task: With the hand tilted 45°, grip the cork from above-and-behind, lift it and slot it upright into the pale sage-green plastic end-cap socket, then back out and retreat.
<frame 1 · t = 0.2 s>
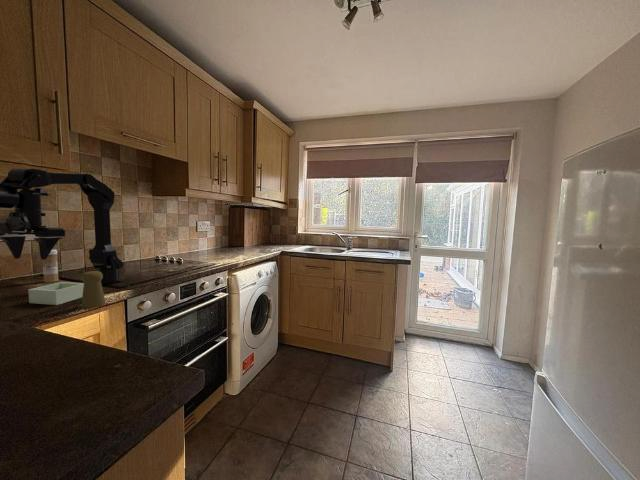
hand: (30, 259, 83), 15 cm above the counter, tool pointing down, fingers open, 9 cm apart
end cap socket: (59, 299, 90), on the counter
cork: (93, 305, 85), on the counter
sprinkles bottle: (51, 281, 112), on the counter
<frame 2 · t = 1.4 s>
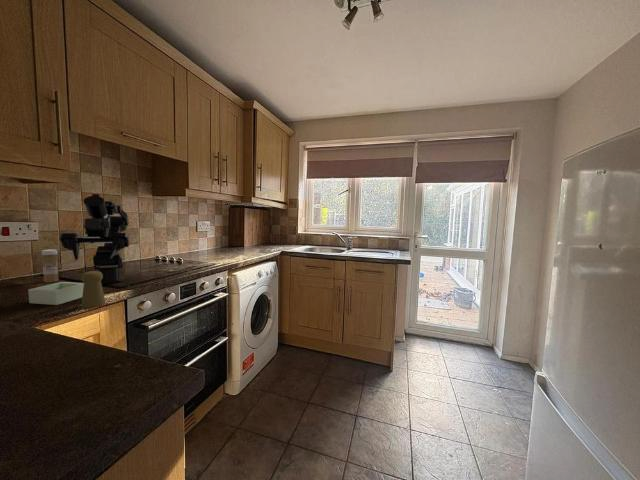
hand: (93, 258, 91), 14 cm above the counter, tool tilted 45°, fingers open, 9 cm apart
nothing on the counter moved.
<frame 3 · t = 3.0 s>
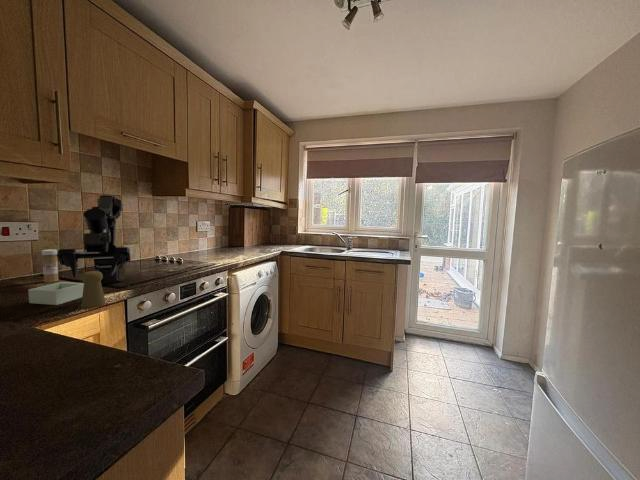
hand: (93, 276, 86), 9 cm above the counter, tool tilted 45°, fingers open, 9 cm apart
nothing on the counter moved.
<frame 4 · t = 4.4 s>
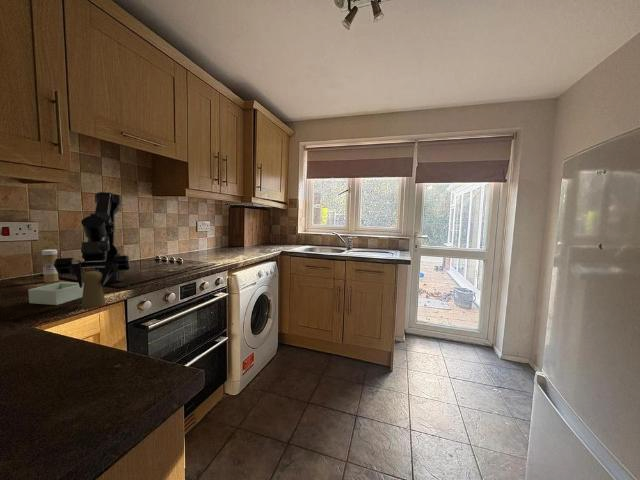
hand: (91, 286, 84), 7 cm above the counter, tool tilted 45°, fingers closed on cork, 5 cm apart
cork: (93, 305, 85), on the counter, touching gripper
everything else where it was.
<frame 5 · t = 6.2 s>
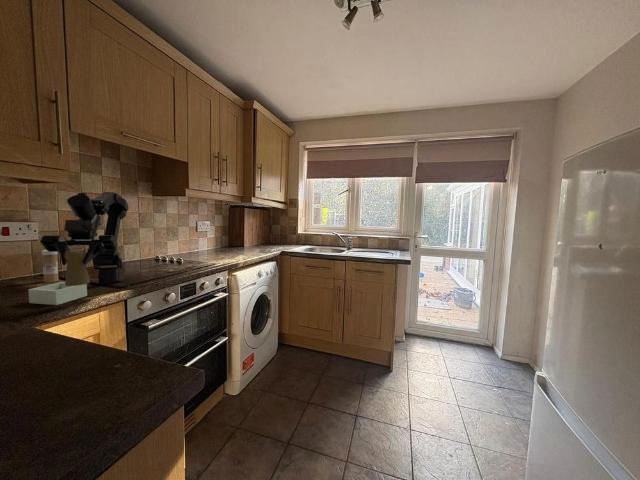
hand: (74, 264, 84), 13 cm above the counter, tool tilted 45°, fingers closed on cork, 5 cm apart
cork: (77, 283, 86), point 7 cm above the counter, touching gripper
everything else where it was.
when the fingers open (9 cm above the counter, at t = 8.2 s): cork drops 1 cm, resting on end cap socket.
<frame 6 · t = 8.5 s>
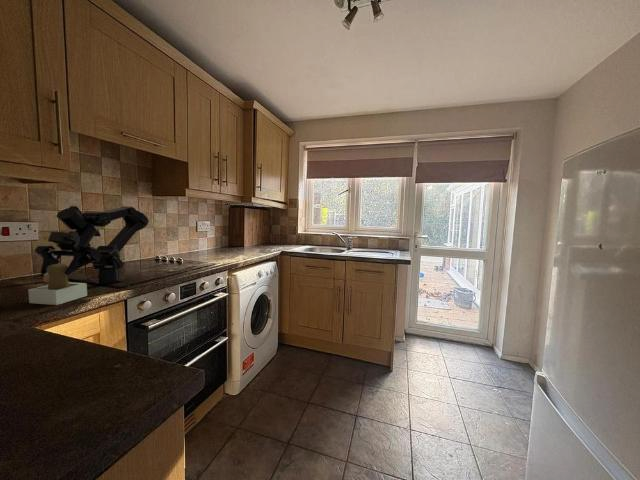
hand: (54, 273, 88), 9 cm above the counter, tool tilted 45°, fingers open, 7 cm apart
cork: (59, 296, 90), point 1 cm above the counter, touching end cap socket
everything else where it was.
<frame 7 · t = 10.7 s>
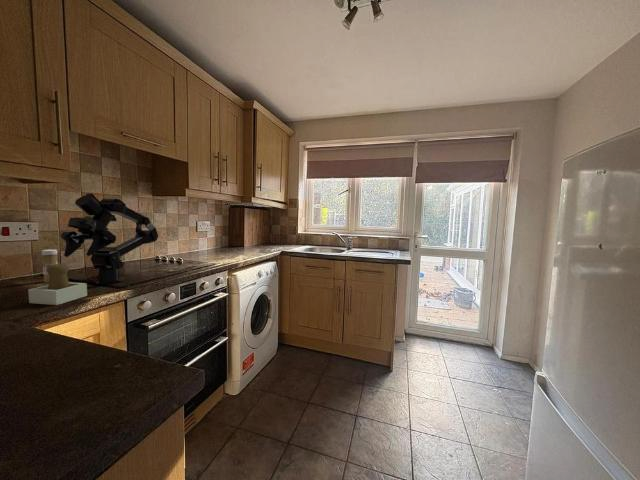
hand: (76, 255, 97), 14 cm above the counter, tool tilted 40°, fingers open, 9 cm apart
nothing on the counter moved.
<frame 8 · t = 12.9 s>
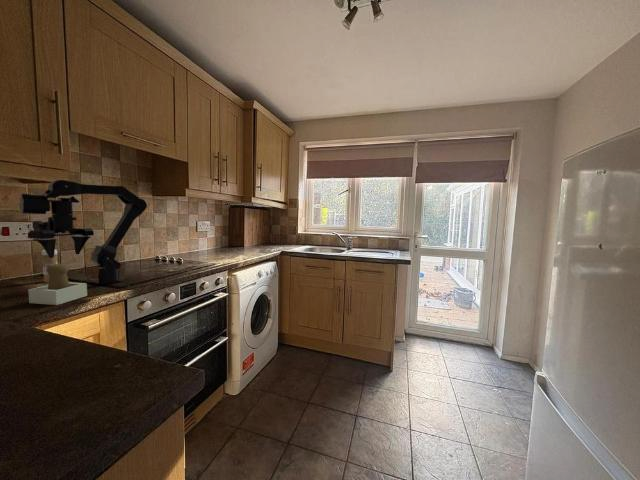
hand: (64, 256, 100), 13 cm above the counter, tool pointing down, fingers open, 9 cm apart
nothing on the counter moved.
at the end: cork 0.0 cm off-centre on the end cap socket, point 0.8 cm above the end cap socket's base; cork tilted 0°; the gripper is holding nothing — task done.
